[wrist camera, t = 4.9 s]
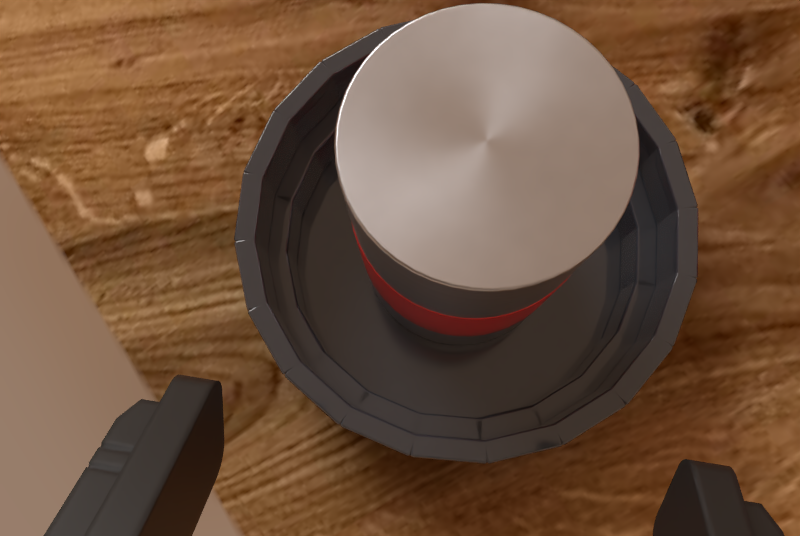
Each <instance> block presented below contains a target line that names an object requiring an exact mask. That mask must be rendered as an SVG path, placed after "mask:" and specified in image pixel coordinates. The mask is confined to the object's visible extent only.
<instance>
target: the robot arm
mask: <svg viewBox="0 0 800 536" xmlns="http://www.w3.org/2000/svg"><path fill="white" fill-rule="evenodd" d="M223 451H224V423H223V400H222V386H221V383H220V382H219V381H215V380H209V379H202V378H196V377H190V376H184V375H177V376H175V377H174V378H173V380H172V381H171V383H170V385H169V387H168V388H167V390H166V392H165V394H164V395H163V397H162V399H161V401H160V402H155V401H149V400H143V399H141V400H140V401H138V402H137V403H136V404H135V405H133V406H132V407H131V408H129V409H128V410H127V411H126V412H124V413H123V414H122V415H120V416H119V417H118V418H117V419H116V420H115V422H114V423H113V425H112V427H111V428H110V430H109V431H108V433H107V435H106V436H105V438H104V440H103V441H102V445H101V447H99V448H98V449H97V451H96V452H95V454H94V456H93V457H92V459H91V460H90V462H89V467H88V468H87V467H86V469H85V470H84V472H83V473H82V475H81V477H80V478H79V480H78V481H77V483H76V485H75V486H74V488H73V489H72V491H71V493H70V494H69V496H68V497H67V499H66V501H65V502H64V504H63V506H62V507H61V509H60V510H59V512H58V514H57V515H56V517H55V518H54V520H53V522H52V523H51V525H50V527H49V528H48V530H47V532H46V533H45V534H44V536H192V534H193V532H194V530H195V527H196V525H197V523H198V520H199V518H200V515H201V513H202V511H203V508H204V506H205V504H206V501H207V499H208V497H209V495H210V492H211V490H212V487H213V485H214V483H215V480H216V478H217V475H218V473H219V469H220V466H221V462H222V457H223ZM653 536H784V534H783V531H782V530H781V529H780V528H779V526H778V525H777V524H776V522H775V521H774V520H773V519H772V517H771V516H770V515H769V513H768V512H767V511H766V510H765V508H764V507H763V506H762V504H759V503H753V502H747V501H744V499H743V496H742V493H741V490H740V486H739V483H738V480H737V477H736V474H735V472H734V470H733V469H732V468H731V467H729V466H724V465H718V464H711V463H705V462H699V461H693V460H687V459H684V460H683V461H681V463H680V464H679V466H678V468H677V470H676V473H675V475H674V477H673V479H672V482H671V484H670V486H669V489H668V491H667V493H666V495H665V498H664V500H663V502H662V504H661V507H660V509H659V511H658V513H657V516H656V519H655V523H654V529H653Z"/></svg>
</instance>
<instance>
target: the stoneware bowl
mask: <svg viewBox="0 0 800 536" xmlns="http://www.w3.org/2000/svg"><path fill="white" fill-rule="evenodd" d="M412 21H413V20H412ZM409 22H411V21H408V22H403V23H399V24H394V25H390V26H385V27H381V29H377V30H375V31H373V32H372V33H370V34H368V35H366V36H365V37H363V38H361V39H359V40H357V41H356V42H354V43H352V44H350V45H348V46H347V47H345V48H343V49H341V50H339V51H338V52H336V53H334V54H332V55H331V56H329V57H327V58H325V59H323V60H322V61H321V62H319V63H318V64H317V65H316V66H315V67H314V68H313V69H312V70H311V71H310V72H309V73H308V75H307V76H306V77H305V78H304V79H303V80H302V81H301V82H300V83H299V84H298V85H297V86H296V87H295V88H294V89H293V90H292V91H291V92H290V93H289V94H288V96H287V97H286V98H285V99H284V100H283V101H282V102H281V103H280V104H279V105H278V106H277V107H276V108H275V109H274V111H273V112H272V114H271V116H270V118H269V120H268V122H267V124H266V126H265V129H264V131H263V133H262V135H261V137H260V139H259V141H258V143H257V145H256V147H255V149H254V151H253V153H252V155H251V157H250V159H249V161H248V164H247V166H246V168H245V170H244V172H245V173H243V178H242V186H241V193H240V200H239V208H238V215H237V223H236V230H235V237H234V240H235V249H236V254H237V259H238V265H239V270H240V275H241V280H242V286H243V291H244V296H245V301H246V307H247V310H248V314H249V315H250V317H251V319H252V321H253V322H254V324H255V326H256V328H257V329H258V331H259V333H260V335H261V337H262V338H263V340H264V342H265V344H266V345H267V347H268V349H269V351H270V353H271V354H272V356H273V358H274V360H275V361H276V363H277V365H278V367H279V369H280V370H281V372H282V374H284V375H285V377H286V378H287V379H288V380H289V381H290V382H291V383H292V384H293V385H295V386H296V387H297V388H298V389H299V390H300V391H301V392H302V393H303V394H305V395H306V396H307V397H308V398H309V399H310V400H311V401H312V402H313V403H315V404H316V405H317V406H318V407H319V408H320V409H321V410H322V411H323V412H324V413H326V414H327V415H328V416H329V417H330V418H331V419H332V420H333V421H334V422H336V423H337V424H338V425H340V426H341V427H343V428H345V429H347V430H350V431H352V432H354V433H357V434H359V435H361V436H363V437H366V438H368V439H370V440H373V441H375V442H377V443H379V444H382V445H384V446H386V447H389V448H391V449H393V450H395V451H398V452H400V453H402V454H404V455H407V456H410V455H411V456H412V457H417V458H428V459H439V460H450V461H460V462H471V463H482V464H485V463H494V462H498V461H502V460H506V459H510V458H515V457H519V456H523V455H527V454H531V453H536V452H540V451H544V450H548V449H552V448H557V447H561V446H562V445H565V444H567V443H568V442H570V441H571V440H573V439H575V438H576V437H578V436H579V435H581V434H582V433H584V432H586V431H587V430H589V429H590V428H592V427H594V426H595V425H597V424H598V423H600V422H602V421H603V420H605V419H606V418H608V417H609V416H611V415H613V414H614V413H616V412H617V411H619V410H621V409H622V408H624V407H625V406H626V405H627V404H629V402H630V401H631V400H632V399H633V397H634V396H635V395H636V394H637V392H638V391H639V390H640V389H641V387H642V386H643V385H644V384H645V382H646V381H647V380H648V379H649V377H650V376H651V375H652V374H653V372H654V371H655V370H656V369H657V367H658V366H659V365H660V364H661V362H662V361H663V360H664V359H665V357H666V356H667V355H668V354H669V352H670V351H671V350H672V348H673V346H674V344H675V342H676V339H677V336H678V333H679V330H680V327H681V325H682V322H683V319H684V316H685V313H686V310H687V308H688V305H689V302H690V299H691V296H692V294H693V291H694V288H695V285H696V282H697V279H696V278H697V277H698V208H697V202H696V199H695V196H694V193H693V190H692V187H691V184H690V181H689V177H688V174H687V171H686V168H685V165H684V162H683V159H682V156H681V153H680V150H679V147H678V144H677V142H676V139H675V137H674V136H673V134H672V133H671V132H670V130H669V129H668V128H667V126H666V125H665V123H664V122H663V121H662V119H661V118H660V116H659V115H658V114H657V112H656V111H655V110H654V108H653V107H652V105H651V104H650V103H649V101H648V100H647V98H646V97H645V96H644V94H643V93H642V92H641V90H640V89H639V87H638V86H637V85H636V84H635V85H634V82H633V81H631V80H630V79H629V78H628V77H626V76H625V75H624V74H622V73H621V72H620V71H618V70H617V69H616V68H614V67H613V66H612V65H611V66H612V67H613V69H614V70H615V72H616V73H617V75H618V77H619V78H620V80H621V81H622V83H623V85H624V87H625V89H626V92H627V94H628V96H629V98H630V100H631V103H632V107H633V110H634V113H635V117H636V121H637V127H638V134H639V154H640V158H639V166H638V174H637V179H636V182H635V186H634V190H633V194H632V196H631V199H630V201H629V203H628V206H627V208H626V210H625V213H624V214H623V216H622V217H621V219H620V221H619V222H618V224H617V226H616V227H615V229H614V230H613V232H612V233H611V234H610V235H609V236H608V238H607V239H606V240H605V241H604V243H603V244H602V245H601V246H600V247H599V248H598V249H597V250H596V251H595V252H594V253H593V254H592V255H590V256H589V257H588V258H587V259H586V260H585V261H584V262H583V263H582V264H581V265H580V266H579V267H578V268H577V269H576V270H575V271H574V272H573V273H572V274H571V275H570V277H569V278H568V279H567V280H566V281H565V282H564V283H563V284H562V285H561V286H560V287H559V288H558V289H557V290H556V291H555V292H554V293H553V294H552V295H551V296H550V297H549V298H548V299H547V300H546V301H544V302H543V303H542V304H541V305H540V306H539V307H538V308H537V309H536V310H535V311H534V312H533V313H532V314H530V315H529V316H527V317H526V318H525V319H524V320H523V321H522V322H521V323H520V324H519V325H517V326H516V327H515V328H513V329H512V330H510V331H509V332H507V333H505V334H503V335H501V336H499V337H497V338H495V339H492V340H489V341H486V342H482V343H477V344H470V345H449V344H443V343H437V342H434V341H431V340H428V339H425V338H423V337H421V336H418V335H416V334H414V333H413V332H411V331H409V330H408V329H406V328H405V327H403V326H402V325H401V324H400V323H399V322H397V321H396V320H395V319H394V318H393V317H392V316H391V315H390V314H389V313H388V311H387V310H386V309H385V308H384V306H383V305H382V303H381V302H380V300H379V299H378V297H377V295H376V293H375V291H374V289H373V286H372V283H371V280H370V277H369V275H368V273H367V270H366V268H365V265H364V262H363V259H362V256H361V253H360V250H359V247H358V244H357V241H356V237H355V234H354V231H353V227H352V222H351V218H350V215H349V212H348V208H347V205H346V202H345V199H344V196H343V193H342V190H341V187H340V183H339V179H338V174H337V169H336V164H335V150H334V141H335V127H336V122H337V117H338V113H339V108H340V105H341V103H342V100H343V97H344V94H345V91H346V89H347V87H348V86H349V84H350V82H351V80H352V78H353V76H354V74H355V73H356V71H357V70H358V68H359V67H360V66H361V64H362V63H363V61H364V60H365V59H366V58H367V57H368V55H369V54H370V53H371V52H372V51H373V50H374V49H375V48H376V47H377V46H378V45H379V44H380V43H381V42H382V41H384V40H385V39H386V38H387V37H388V36H389V35H391V34H392V33H393V32H395V31H396V30H398V29H399V28H401V27H403V26H404V25H406V24H407V23H409Z"/></svg>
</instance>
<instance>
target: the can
mask: <svg viewBox="0 0 800 536" xmlns="http://www.w3.org/2000/svg"><path fill="white" fill-rule="evenodd" d="M334 150H335V164H336V169H337V174H338V179H339V183H340V187H341V190H342V193H343V196H344V199H345V202H346V205H347V208H348V212H349V215H350V218H351V222H352V227H353V231H354V234H355V237H356V241H357V244H358V247H359V250H360V253H361V256H362V259H363V262H364V265H365V268H366V270H367V273H368V275H369V277H370V280H371V283H372V286H373V289H374V291H375V293H376V295H377V297H378V299H379V300H380V302H381V303H382V305H383V306H384V308H385V309H386V310H387V311H388V313H389V314H390V315H391V316H392V317H393V318H394V319H395V320H396V321H397V322H399V323H400V324H401V325H402V326H403V327H405V328H406V329H408V330H409V331H411V332H413V333H414V334H416V335H418V336H421V337H423V338H425V339H428V340H431V341H434V342H437V343H443V344H449V345H470V344H477V343H482V342H486V341H489V340H492V339H495V338H497V337H499V336H501V335H503V334H505V333H507V332H509V331H510V330H512V329H513V328H515V327H516V326H517V325H519V324H520V323H521V322H522V321H523V320H524V319H525V318H526V317H527V316H529V315H530V314H532V313H533V312H534V311H535V310H536V309H537V308H538V307H539V306H540V305H541V304H542V303H543V302H544V301H546V300H547V299H548V298H549V297H550V296H551V295H552V294H553V293H554V292H555V291H556V290H557V289H558V288H559V287H560V286H561V285H562V284H563V283H564V282H565V281H566V280H567V279H568V278H569V277H570V275H571V274H572V273H573V272H574V271H575V270H576V269H577V268H578V267H579V266H580V265H581V264H582V263H583V262H584V261H585V260H586V259H587V258H588V257H589V256H590V255H592V254H593V253H594V252H595V251H596V250H597V249H598V248H599V247H600V246H601V245H602V244H603V243H604V241H605V240H606V239H607V238H608V236H609V235H610V234H611V233H612V232H613V230H614V229H615V227H616V226H617V224H618V222H619V221H620V219H621V217H622V216H623V214H624V213H625V210H626V208H627V206H628V203H629V201H630V199H631V196H632V194H633V190H634V186H635V182H636V179H637V174H638V166H639V158H640V154H639V134H638V127H637V121H636V117H635V113H634V110H633V107H632V103H631V100H630V98H629V96H628V94H627V92H626V89H625V87H624V85H623V83H622V81H621V80H620V78H619V77H618V75H617V73H616V72H615V70H614V69H613V67H612V66H611V65H610V63H609V62H608V61H607V60H606V59H605V57H604V56H603V55H602V54H601V53H600V52H599V51H598V50H597V49H596V48H595V47H594V46H593V45H592V44H591V43H590V42H589V41H588V40H587V39H585V38H584V37H583V36H581V35H580V34H578V33H577V32H576V31H574V30H573V29H572V28H570V27H568V26H566V25H565V24H563V23H561V22H559V21H557V20H556V19H553V18H551V17H549V16H546V15H544V14H541V13H539V12H536V11H532V10H529V9H525V8H522V7H517V6H511V5H504V4H490V3H477V4H465V5H458V6H454V7H449V8H444V9H441V10H438V11H435V12H432V13H429V14H426V15H424V16H421V17H419V18H417V19H415V20H413V21H411V22H409V23H407V24H406V25H404V26H403V27H401V28H399V29H398V30H396V31H395V32H393V33H392V34H391V35H389V36H388V37H387V38H386V39H385V40H384V41H382V42H381V43H380V44H379V45H378V46H377V47H376V48H375V49H374V50H373V51H372V52H371V53H370V54H369V55H368V57H367V58H366V59H365V60H364V61H363V63H362V64H361V66H360V67H359V68H358V70H357V71H356V73H355V74H354V76H353V78H352V80H351V82H350V84H349V86H348V87H347V89H346V91H345V94H344V97H343V100H342V103H341V105H340V108H339V113H338V117H337V122H336V127H335V141H334Z"/></svg>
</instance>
